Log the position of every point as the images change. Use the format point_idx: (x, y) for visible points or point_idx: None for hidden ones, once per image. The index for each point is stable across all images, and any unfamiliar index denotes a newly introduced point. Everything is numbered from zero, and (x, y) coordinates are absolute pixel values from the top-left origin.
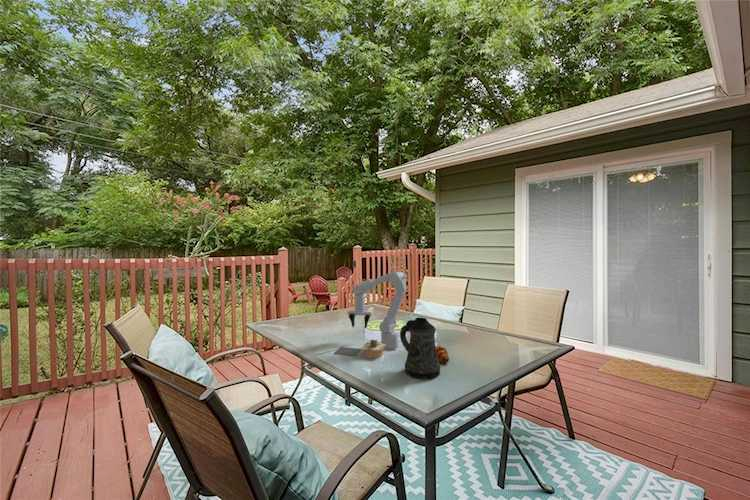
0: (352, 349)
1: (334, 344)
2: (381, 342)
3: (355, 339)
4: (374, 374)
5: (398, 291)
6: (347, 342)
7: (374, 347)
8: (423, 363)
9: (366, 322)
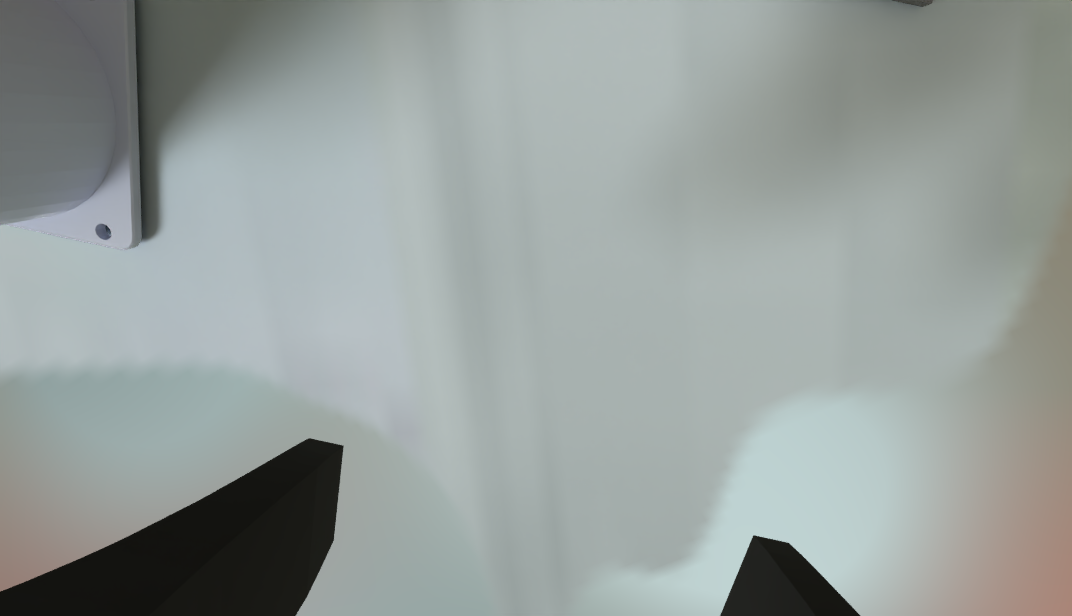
0: None
1: (1042, 223)
2: (15, 47)
3: (637, 516)
4: None
5: None
6: (774, 356)
7: None
8: None
9: (92, 557)
